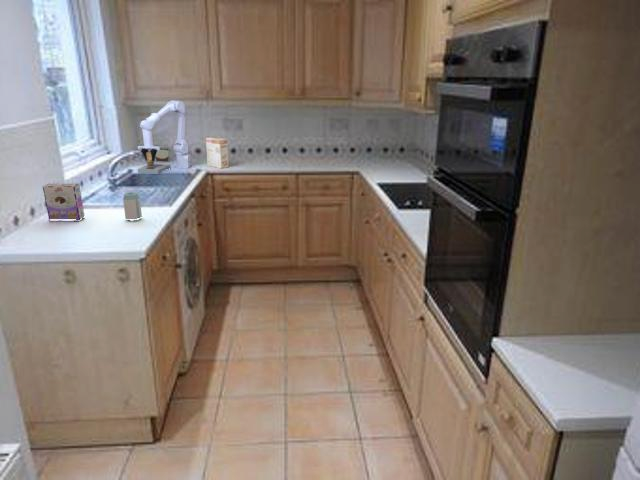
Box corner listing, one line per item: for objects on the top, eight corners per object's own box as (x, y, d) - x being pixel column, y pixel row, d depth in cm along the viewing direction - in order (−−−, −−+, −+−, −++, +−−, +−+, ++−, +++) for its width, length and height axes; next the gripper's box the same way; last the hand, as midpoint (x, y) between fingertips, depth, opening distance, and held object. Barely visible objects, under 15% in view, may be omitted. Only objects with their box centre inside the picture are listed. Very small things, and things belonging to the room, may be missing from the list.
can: (122, 220, 220) (119, 194, 216) (135, 216, 226) (132, 191, 222) (132, 223, 217) (129, 196, 213) (145, 219, 222) (142, 193, 218)
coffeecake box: (229, 167, 337) (227, 138, 330) (221, 168, 331) (219, 139, 325) (215, 164, 346) (213, 136, 339) (207, 165, 340) (205, 137, 334)
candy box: (85, 218, 223) (80, 182, 217) (80, 222, 217) (74, 186, 212) (54, 218, 222) (48, 182, 217) (48, 221, 217) (41, 185, 211)
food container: (173, 160, 357) (172, 146, 354) (170, 162, 351) (169, 148, 348) (157, 160, 358) (156, 146, 355) (154, 161, 353) (152, 147, 349)
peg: (155, 165, 319) (153, 151, 316) (152, 166, 315) (150, 152, 312) (149, 165, 320) (147, 151, 316) (146, 166, 316) (144, 152, 313)
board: (170, 168, 330) (170, 164, 329) (158, 173, 314) (157, 169, 313) (151, 167, 332) (150, 163, 331) (138, 172, 315) (137, 169, 315)
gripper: (134, 140, 309) (136, 161, 313) (155, 140, 307) (157, 162, 311) (139, 138, 315) (142, 159, 320) (160, 139, 313) (162, 160, 318)
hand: (150, 160), depth 316 cm, fingers closed on peg, 4 cm apart
